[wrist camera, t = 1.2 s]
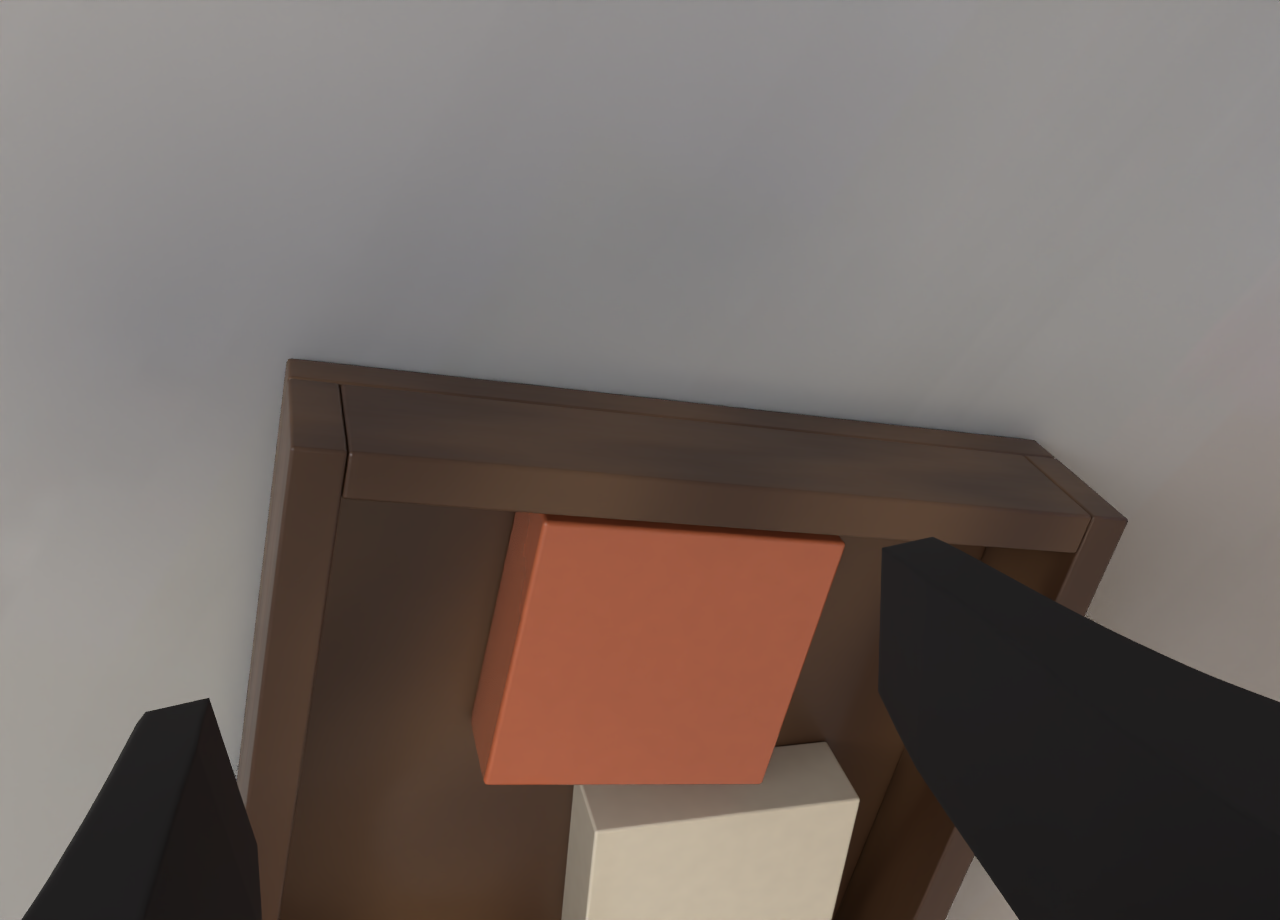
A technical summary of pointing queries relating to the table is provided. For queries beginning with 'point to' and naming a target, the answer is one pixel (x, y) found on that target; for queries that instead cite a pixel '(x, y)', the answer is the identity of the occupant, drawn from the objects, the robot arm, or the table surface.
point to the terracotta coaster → (645, 650)
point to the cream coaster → (714, 845)
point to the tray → (467, 593)
